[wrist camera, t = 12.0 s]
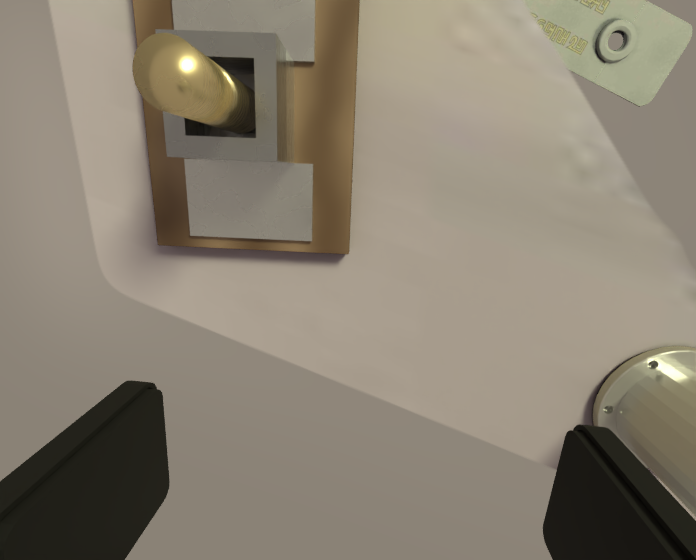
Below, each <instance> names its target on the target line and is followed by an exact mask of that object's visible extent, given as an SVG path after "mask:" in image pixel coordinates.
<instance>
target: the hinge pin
mask: <svg viewBox="0 0 696 560" xmlns="http://www.w3.org/2000/svg"><path fill="white" fill-rule="evenodd" d="M133 76H134V80H135V83H136V86H137V88H138V90H139V92H140V93H141V95H142V96H143V98H144V99H145V100H146V101H147V102H148V103H149V104H151V105H152V106H153V107H155V108H157V109H159V110H161V111H164V112H168V113H171V114H174V115H178V116H181V117H184V118H187V119H191V120H194V121H197V122H201V123H204V124H207V125H211V126H214V127H217V128H220V129H224V130H227V131H230V132H234V133H237V134H245V133H248V132H251V131H252V130H254V129H255V128H256V114H255V92H254V91H253V90H252V89H250V88H249V87H248V86H246V85H245V84H244V83H242V82H241V81H240V80H238V79H237V78H235V77H234V76H233V75H231V74H230V73H229V72H227V71H226V70H225V69H223V68H222V67H221V66H219V65H218V64H216V63H215V62H214V61H212V60H211V59H210V58H208V57H207V56H206V55H204V54H203V53H202V52H200V51H199V50H198V49H196V48H195V47H193V46H192V45H191V44H189V43H188V42H187V41H185V40H184V39H182V38H181V37H179V36H177V35H174V34H170V33H157V34H154V35H151V36H149V37H148V38H146V39H145V40H144V41H143V42H142V43H141V44H140V45H139V47H138V48H137V50H136V53H135V55H134V60H133Z"/></svg>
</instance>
